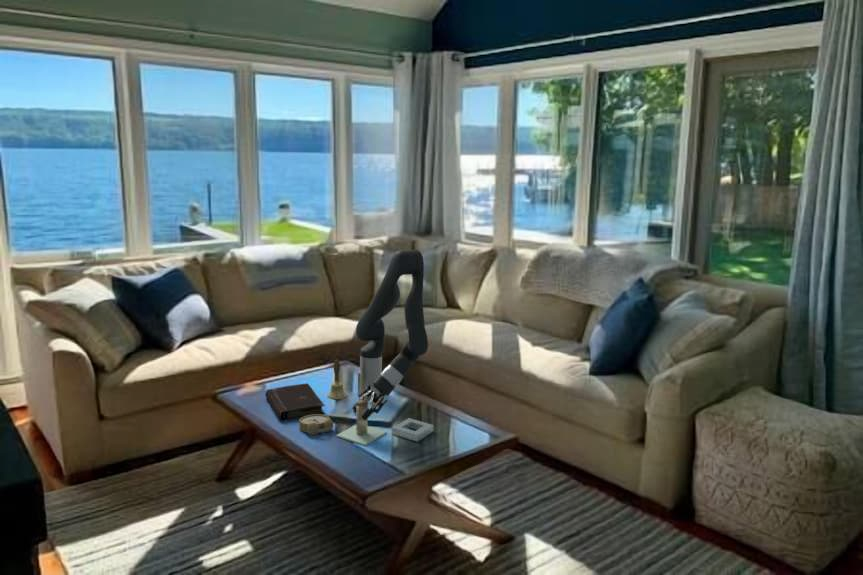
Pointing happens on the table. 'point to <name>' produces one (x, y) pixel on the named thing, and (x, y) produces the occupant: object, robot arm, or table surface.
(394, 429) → the block
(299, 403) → the diary
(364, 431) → the peg
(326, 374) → the table surface
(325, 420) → the alarm clock
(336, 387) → the hand bell
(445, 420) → the table surface
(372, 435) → the tile
